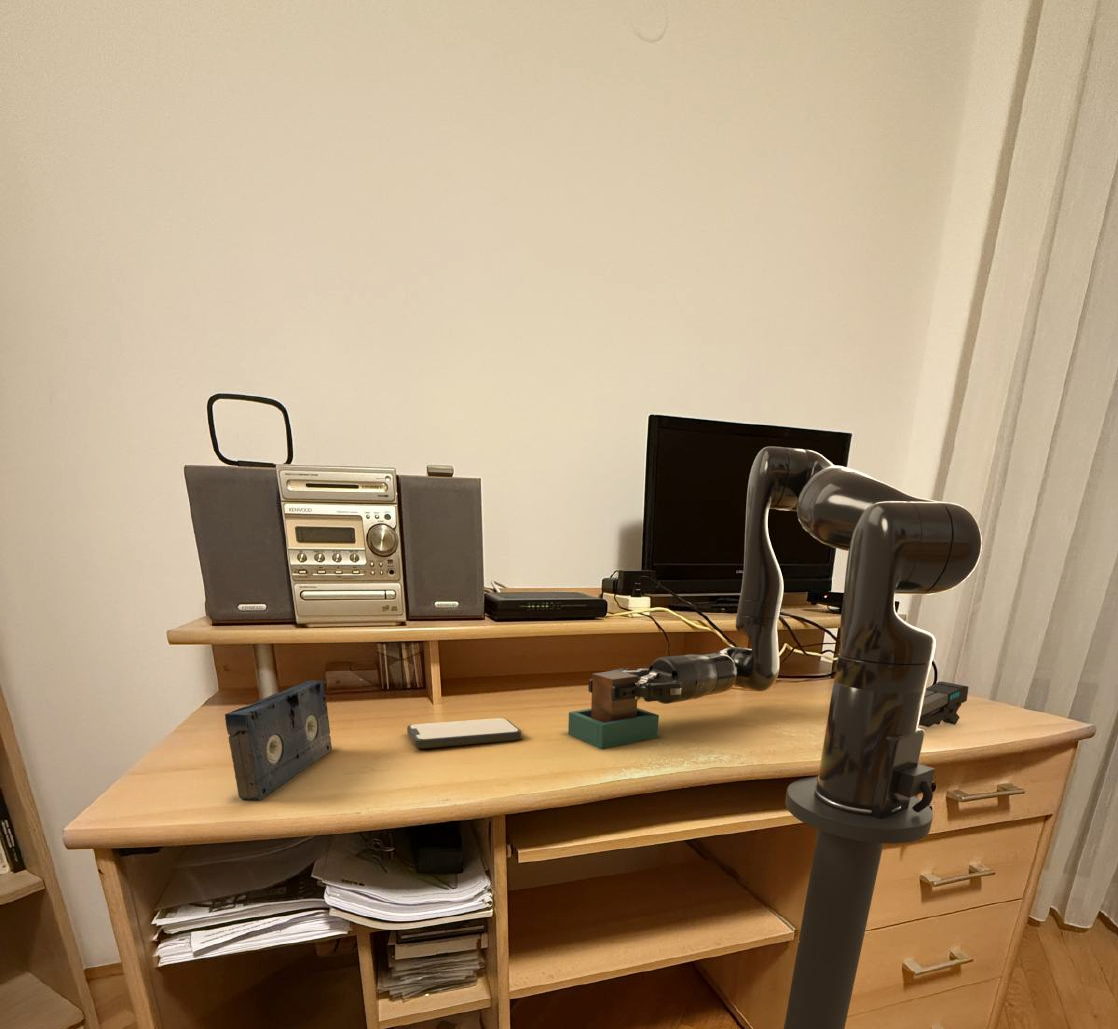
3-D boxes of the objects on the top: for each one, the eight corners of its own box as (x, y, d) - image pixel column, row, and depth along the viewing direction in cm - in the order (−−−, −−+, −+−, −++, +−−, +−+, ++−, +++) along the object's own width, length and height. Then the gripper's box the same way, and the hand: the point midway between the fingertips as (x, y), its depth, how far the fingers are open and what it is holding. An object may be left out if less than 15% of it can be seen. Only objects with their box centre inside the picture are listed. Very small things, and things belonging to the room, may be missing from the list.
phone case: (505, 726, 96) (406, 734, 90) (505, 716, 96) (405, 724, 90) (523, 742, 89) (416, 751, 83) (524, 731, 88) (416, 740, 82)
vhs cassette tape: (316, 748, 83) (307, 679, 80) (336, 749, 83) (328, 680, 80) (233, 800, 66) (219, 714, 63) (258, 801, 66) (245, 715, 63)
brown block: (635, 733, 91) (639, 675, 88) (610, 738, 88) (612, 679, 85) (615, 725, 95) (617, 670, 92) (590, 730, 92) (592, 673, 89)
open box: (657, 737, 91) (659, 714, 90) (601, 749, 85) (602, 725, 84) (622, 724, 98) (623, 703, 97) (568, 734, 92) (568, 712, 91)
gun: (968, 722, 101) (970, 669, 96) (893, 776, 94) (891, 722, 90) (942, 716, 104) (942, 665, 100) (867, 767, 98) (864, 715, 93)
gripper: (654, 649, 101) (573, 657, 92) (718, 662, 90) (634, 673, 81) (651, 691, 104) (572, 703, 95) (713, 709, 93) (631, 725, 83)
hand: (601, 689), depth 88 cm, fingers closed on brown block, 5 cm apart
